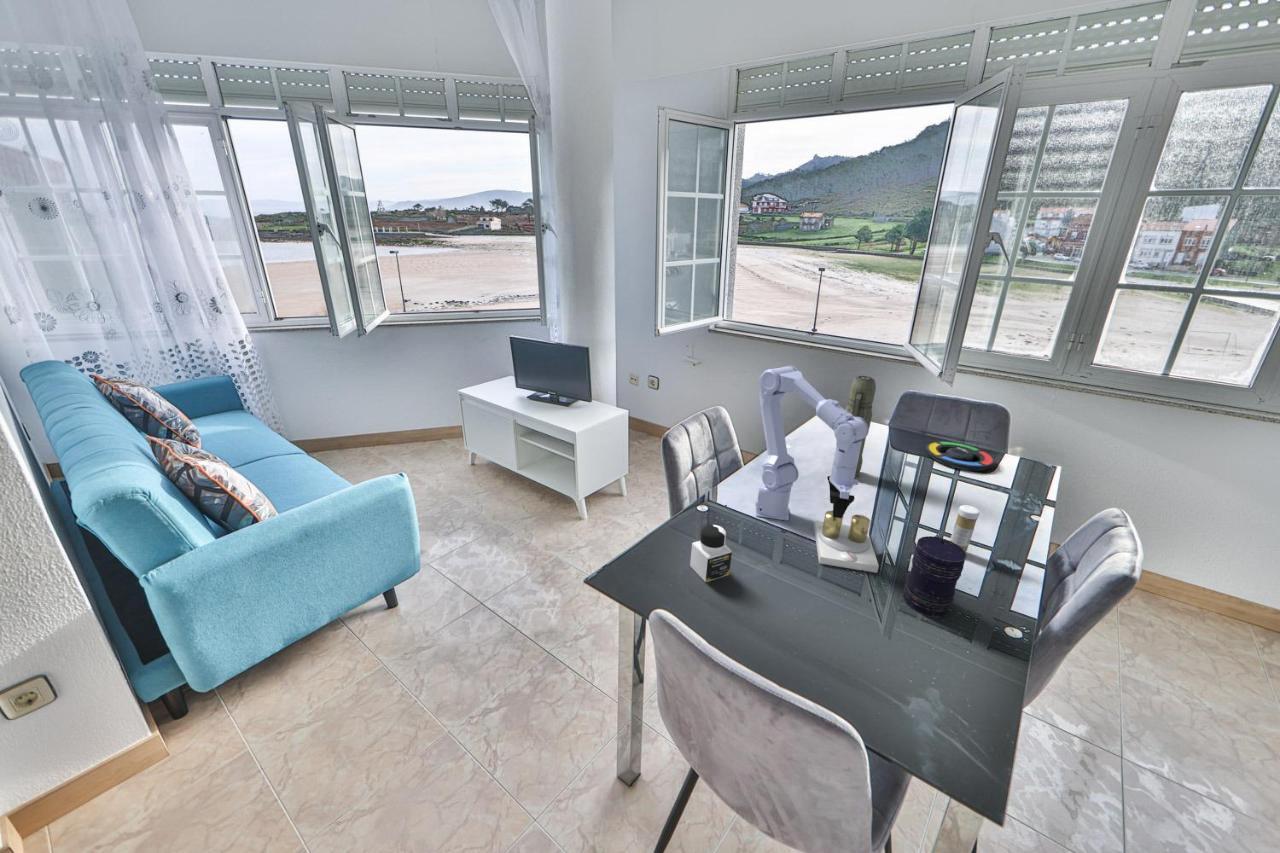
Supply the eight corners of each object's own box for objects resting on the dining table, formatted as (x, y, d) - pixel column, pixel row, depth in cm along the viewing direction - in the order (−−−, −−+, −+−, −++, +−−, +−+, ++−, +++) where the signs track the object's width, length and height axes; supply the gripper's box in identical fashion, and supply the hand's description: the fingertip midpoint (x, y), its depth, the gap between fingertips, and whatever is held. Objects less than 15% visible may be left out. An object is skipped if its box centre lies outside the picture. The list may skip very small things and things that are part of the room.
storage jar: (948, 624, 115) (966, 567, 109) (899, 606, 120) (914, 551, 114) (950, 599, 123) (967, 545, 117) (905, 583, 128) (919, 531, 122)
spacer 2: (850, 542, 139) (854, 522, 136) (846, 532, 143) (850, 513, 141) (867, 544, 138) (872, 524, 136) (863, 534, 142) (867, 515, 140)
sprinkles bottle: (954, 545, 144) (967, 503, 139) (970, 554, 140) (983, 511, 135) (943, 549, 142) (955, 506, 137) (959, 558, 138) (972, 514, 133)
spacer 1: (823, 537, 140) (827, 518, 138) (820, 528, 144) (824, 509, 142) (840, 539, 140) (844, 520, 137) (837, 530, 144) (841, 511, 142)
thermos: (861, 469, 188) (881, 375, 175) (857, 482, 178) (878, 384, 166) (835, 464, 192) (853, 371, 179) (830, 476, 182) (848, 379, 169)
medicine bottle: (705, 583, 125) (709, 540, 120) (689, 566, 131) (693, 525, 126) (729, 575, 128) (734, 533, 124) (713, 559, 134) (717, 518, 130)
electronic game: (911, 451, 207) (913, 440, 205) (955, 446, 214) (958, 435, 212) (959, 476, 187) (963, 464, 185) (1007, 470, 193) (1011, 458, 192)
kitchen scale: (819, 563, 134) (820, 554, 133) (813, 527, 150) (815, 518, 149) (877, 572, 131) (879, 563, 130) (865, 534, 148) (867, 526, 147)
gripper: (866, 478, 127) (855, 526, 132) (857, 454, 140) (847, 499, 145) (835, 474, 128) (826, 522, 133) (829, 451, 141) (821, 495, 146)
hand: (835, 510), depth 139 cm, fingers open, 7 cm apart
